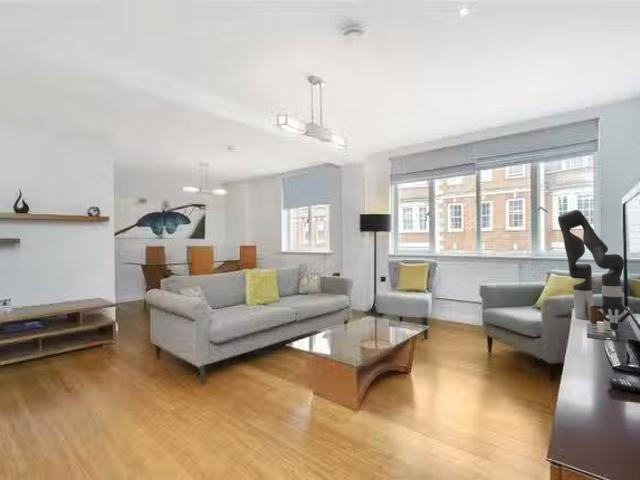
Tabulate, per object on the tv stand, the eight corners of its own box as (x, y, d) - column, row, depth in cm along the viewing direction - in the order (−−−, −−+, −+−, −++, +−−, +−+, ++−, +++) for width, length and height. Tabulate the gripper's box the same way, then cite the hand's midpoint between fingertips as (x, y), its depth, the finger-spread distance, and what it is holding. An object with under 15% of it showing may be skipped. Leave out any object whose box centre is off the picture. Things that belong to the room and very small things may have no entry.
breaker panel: (587, 326, 186) (587, 322, 186) (613, 329, 179) (613, 325, 179) (587, 337, 167) (586, 333, 167) (616, 340, 160) (616, 335, 160)
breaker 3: (604, 328, 173) (604, 318, 173) (611, 328, 172) (610, 319, 172) (605, 329, 171) (604, 320, 171) (611, 330, 169) (610, 320, 169)
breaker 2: (604, 324, 179) (603, 315, 180) (610, 325, 178) (609, 316, 178) (604, 326, 177) (603, 316, 177) (610, 326, 176) (610, 317, 176)
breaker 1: (597, 331, 169) (596, 321, 169) (604, 331, 167) (603, 321, 167) (597, 332, 167) (597, 322, 167) (604, 333, 165) (603, 323, 165)
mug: (609, 327, 183) (608, 310, 183) (591, 325, 187) (590, 309, 188) (606, 322, 193) (605, 306, 193) (590, 321, 197) (589, 305, 197)
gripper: (594, 295, 165) (596, 330, 165) (631, 296, 157) (633, 333, 157) (594, 293, 171) (596, 327, 171) (629, 294, 163) (631, 330, 163)
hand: (614, 330), depth 164 cm, fingers closed
